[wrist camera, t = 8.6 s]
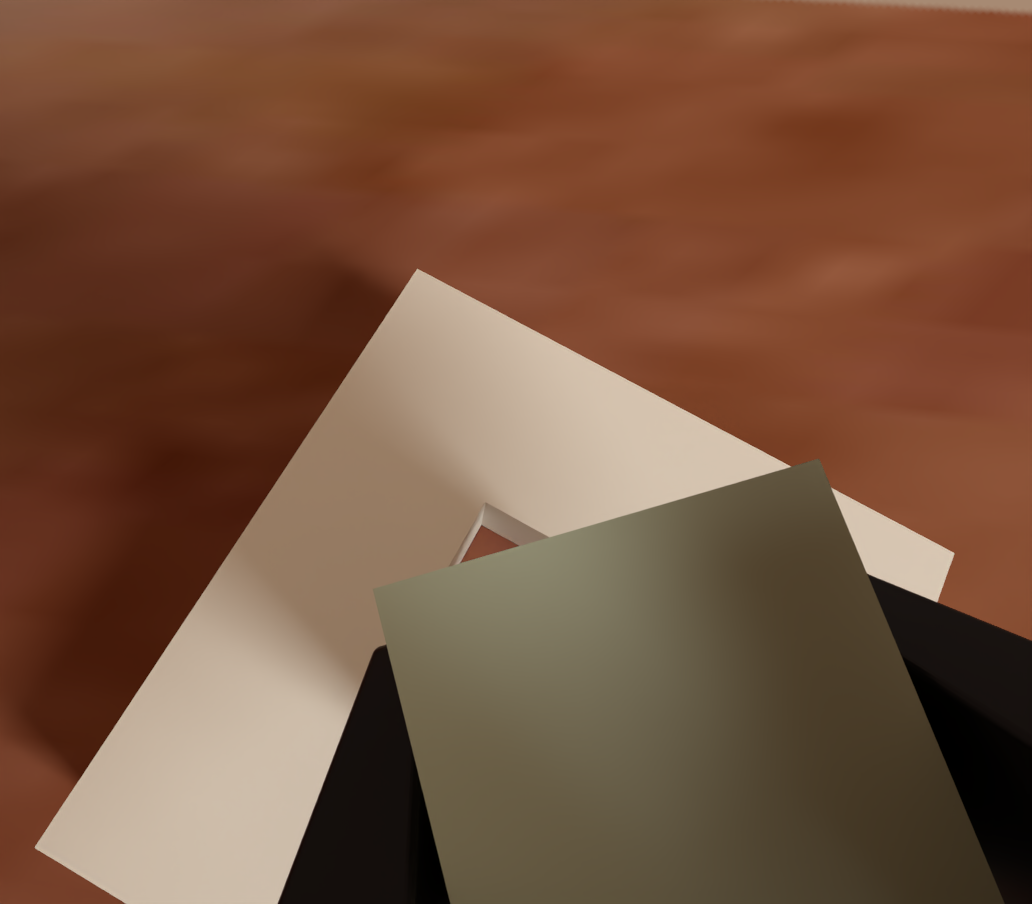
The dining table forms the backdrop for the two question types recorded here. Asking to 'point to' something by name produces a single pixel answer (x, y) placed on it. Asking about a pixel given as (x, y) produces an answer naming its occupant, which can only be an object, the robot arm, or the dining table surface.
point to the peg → (678, 715)
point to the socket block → (380, 581)
